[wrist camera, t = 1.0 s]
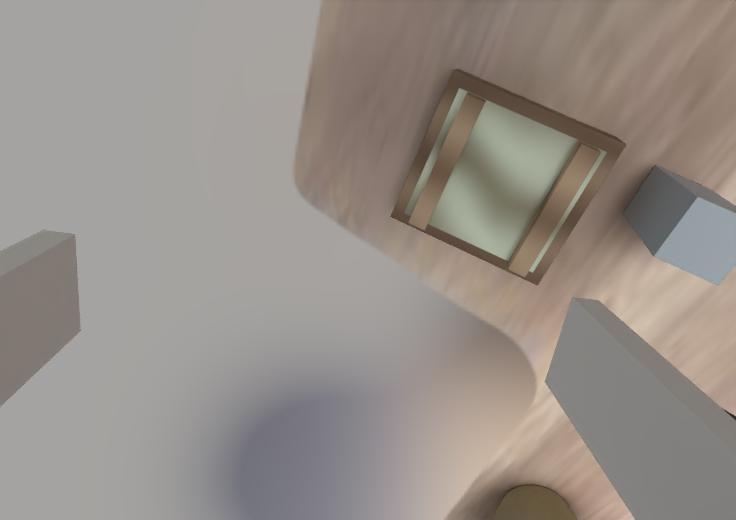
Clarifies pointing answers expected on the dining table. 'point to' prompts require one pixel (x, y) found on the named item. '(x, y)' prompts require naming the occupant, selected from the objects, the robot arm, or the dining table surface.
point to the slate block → (685, 224)
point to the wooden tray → (503, 176)
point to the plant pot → (533, 505)
